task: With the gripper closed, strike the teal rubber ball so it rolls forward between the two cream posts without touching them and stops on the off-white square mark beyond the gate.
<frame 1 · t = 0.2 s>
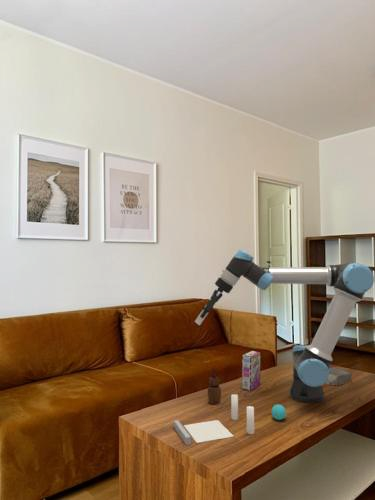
hand: (198, 320, 164), 36 cm above the table, tool tilted 35°, fingers open, 13 cm apart
wooden figurine: (214, 403, 163), on the table
geological specimen: (334, 382, 190), on the table
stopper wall: (181, 435, 132), on the table
post 1: (234, 418, 146), on the table
ball: (278, 412, 146), on the table
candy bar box: (251, 387, 182), on the table
post 2: (250, 432, 134), on the table
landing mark: (207, 431, 136), on the table
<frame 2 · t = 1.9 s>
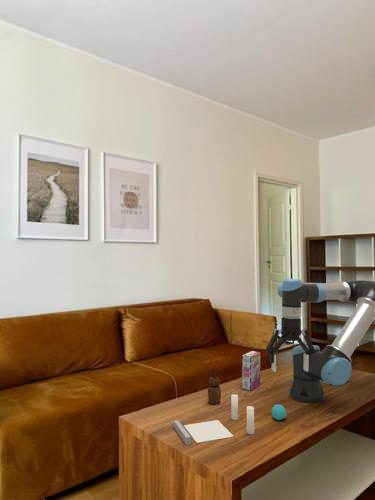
hand: (289, 370, 149), 18 cm above the table, tool pointing down, fingers open, 13 cm apart
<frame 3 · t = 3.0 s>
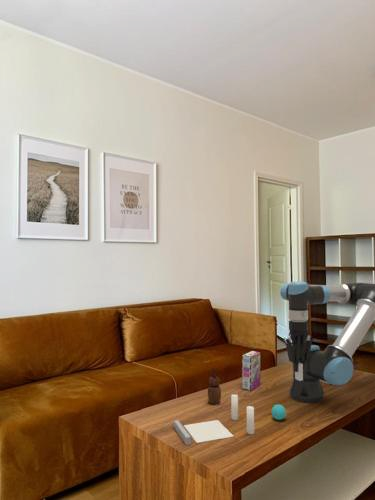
hand: (298, 379, 149), 14 cm above the table, tool pointing down, fingers closed
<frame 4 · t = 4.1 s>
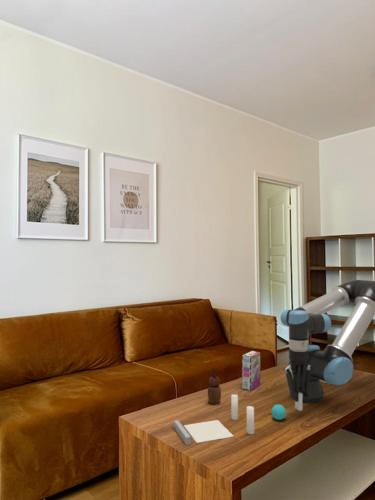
hand: (298, 409, 149), 3 cm above the table, tool pointing down, fingers closed
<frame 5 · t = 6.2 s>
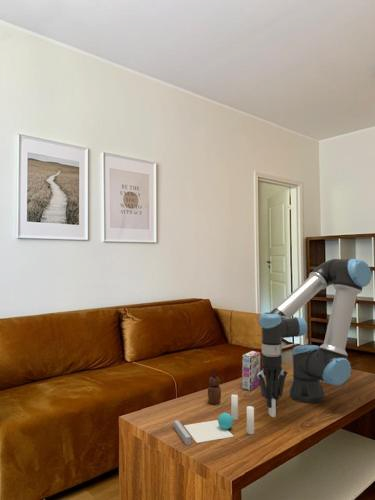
hand: (272, 415, 145), 2 cm above the table, tool pointing down, fingers closed
ball: (225, 420, 138), on the table
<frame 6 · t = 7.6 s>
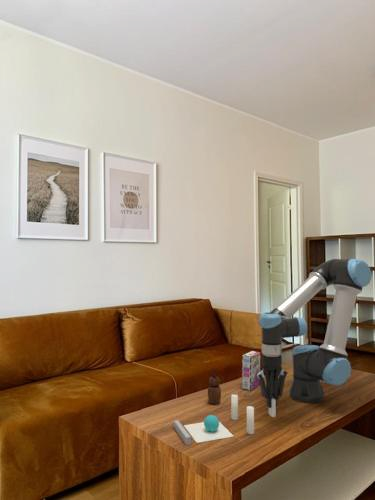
hand: (272, 415, 145), 2 cm above the table, tool pointing down, fingers closed
ball: (211, 423, 136), on the table
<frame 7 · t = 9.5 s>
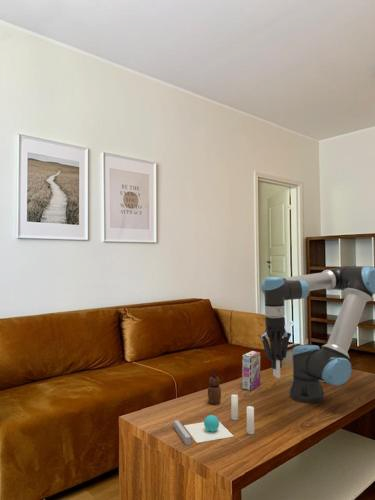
hand: (276, 376, 146), 17 cm above the table, tool pointing down, fingers closed
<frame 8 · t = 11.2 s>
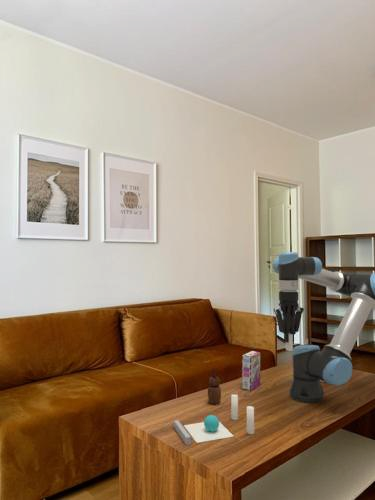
hand: (289, 350, 148), 26 cm above the table, tool pointing down, fingers closed
at the end: ball 1.4 cm from the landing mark (horizontally); ball never touched post 2; ball never touched post 1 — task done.
